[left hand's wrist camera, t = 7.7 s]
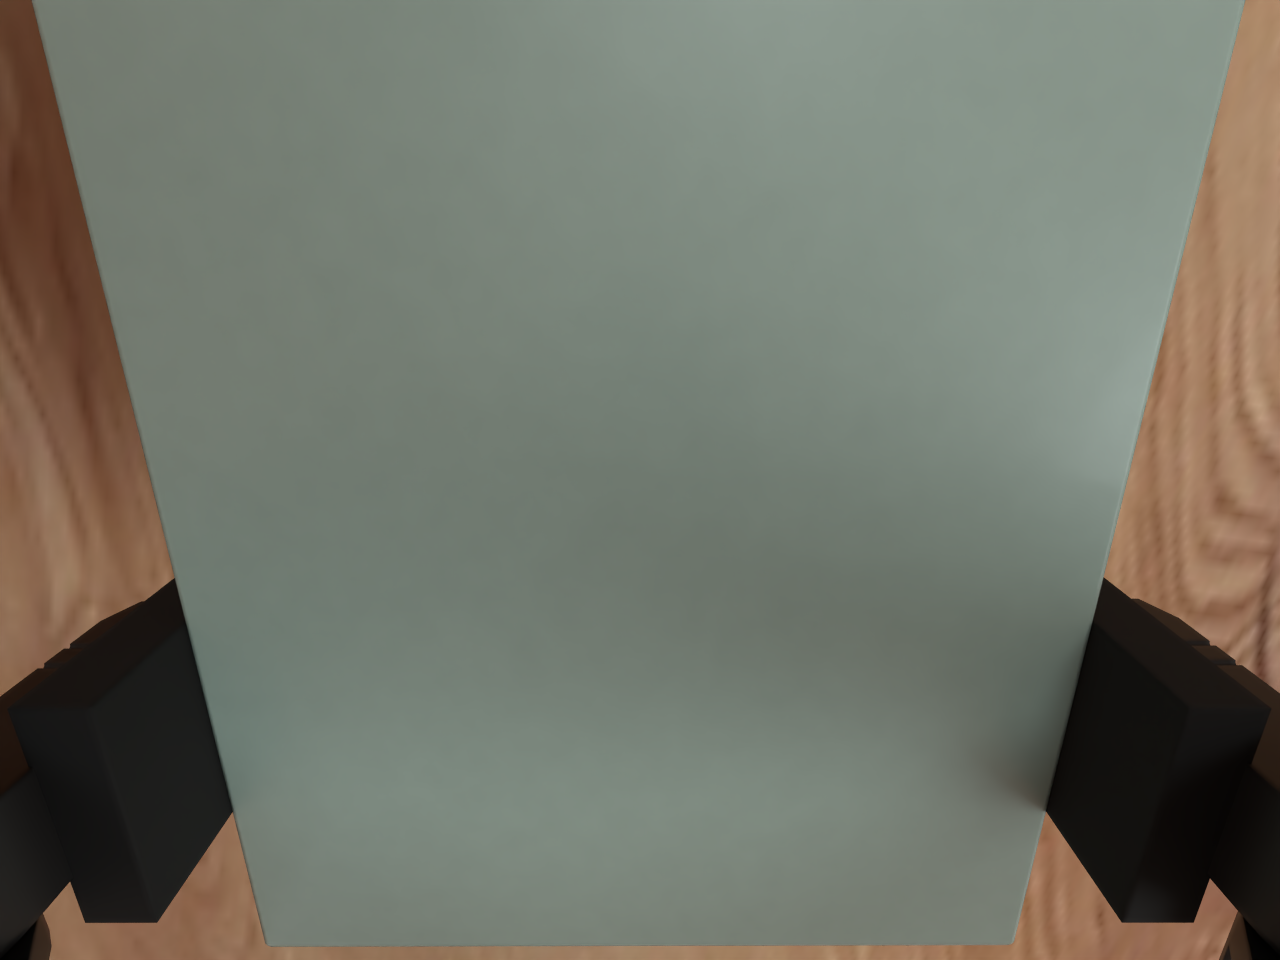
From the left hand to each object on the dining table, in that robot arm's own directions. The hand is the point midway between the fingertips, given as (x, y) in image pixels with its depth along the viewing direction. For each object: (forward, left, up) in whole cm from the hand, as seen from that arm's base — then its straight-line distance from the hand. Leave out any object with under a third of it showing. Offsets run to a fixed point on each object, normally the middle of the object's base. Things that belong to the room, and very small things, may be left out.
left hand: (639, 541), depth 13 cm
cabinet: (+2, +5, -6) cm, 8 cm away
